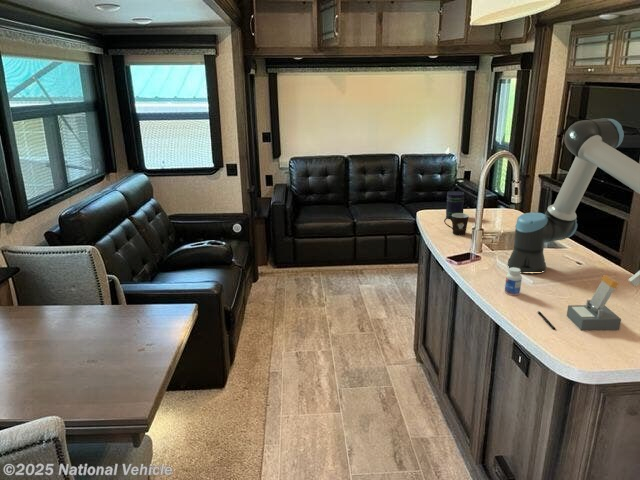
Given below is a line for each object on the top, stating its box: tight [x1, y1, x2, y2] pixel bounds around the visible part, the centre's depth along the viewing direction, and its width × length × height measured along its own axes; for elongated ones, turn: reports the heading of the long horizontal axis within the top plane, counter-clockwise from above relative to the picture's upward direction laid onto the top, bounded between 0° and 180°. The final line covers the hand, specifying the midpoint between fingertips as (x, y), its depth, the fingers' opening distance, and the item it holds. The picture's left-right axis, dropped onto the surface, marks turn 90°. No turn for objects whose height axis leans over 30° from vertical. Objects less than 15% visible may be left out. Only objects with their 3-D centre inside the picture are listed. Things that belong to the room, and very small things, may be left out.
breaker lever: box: [588, 274, 620, 314], centre depth 152 cm, size 2×6×12 cm, turn 179°
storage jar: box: [445, 190, 465, 219], centre depth 275 cm, size 10×10×15 cm
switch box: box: [566, 299, 622, 332], centre depth 154 cm, size 12×10×6 cm
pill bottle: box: [504, 267, 523, 296], centre depth 177 cm, size 6×5×10 cm
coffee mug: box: [444, 212, 470, 236], centre depth 248 cm, size 12×9×10 cm
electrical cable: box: [536, 310, 557, 331], centre depth 158 cm, size 12×1×1 cm, turn 179°
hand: (631, 283), depth 150 cm, fingers closed
